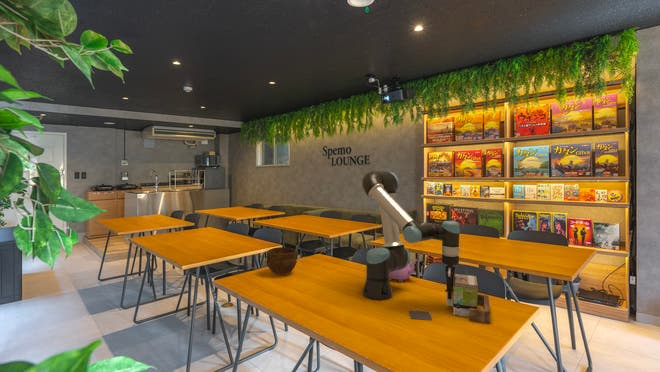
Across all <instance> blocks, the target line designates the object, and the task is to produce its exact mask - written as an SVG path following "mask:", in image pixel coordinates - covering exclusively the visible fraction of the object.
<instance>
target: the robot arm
mask: <svg viewBox="0 0 660 372" xmlns="http://www.w3.org/2000/svg"><path fill="white" fill-rule="evenodd" d="M399 186H400V181H399V178H398V176H397V175H396V174H395V173H394V172H392V171H386V170H385V171H382V170H381V171H378V170H377V171H376V170H374V171H372V170H371V171H369V172H366V173H365V174H364V176H363V177H362V179H361V188H362V190H363V192H364V193H365V194H366V196H368V198H369V199H373V200H374V201H375V203H376V204H377V205H378V206H379V212H380V219H381V225H382V232H383V239H384V244H383V245H382V247H374V248H370V249H369V250H368V251H367V252H366V257H365V260H366V262H365V264H366V265H365V266H366V268H365V269H366V272H365V273H366V277H365V278H366V279H365V283H364V285H363V289H362V296H364V297H365V298H366V299H370V300H375V301H376V300H377V301H385V300H389V299H391V298H393V289H392V286H391V282H390V280H389V272H393V271H396V270H401V269H403V268H405V267H407V266H408V264H409V265H410V262H411V253H410V251H409V250H408V249H407V247H405V243H404V242H402V241H401V235H400V230H401V231H402V236H403V239H404V241H405V242H407V243H408V244H409V243H410V244H416V243H417V244H418V243H420V242H425V241H431V240H436V241H440V242H441V254H442V255H441V263H442V264H444V265H446V266H445V277H446V289H445V290H444V291H445V293H446V306H450V307H453V290H454V275H455V271H456V267H455V266H456V265H459V264H460V256H459V255H460V251H462V250H461V247H460V234H461V233H460V232H461V231H460V223H459V222H458V221H456V220H455V221H453V220H444V221H442V224H438V223H431V222H422V223H421V224H418V222H417V221H415V219H413V217H412V216H410V214H409V213H408V212H407V211H406V210H405V209H404V208H403V207H402V206H401V205H400V204H399V203H398V202H397V200H396V199H395V197H396V195H397V191H398V189H399Z"/></svg>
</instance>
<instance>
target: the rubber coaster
mask: <svg viewBox="0 0 660 372" xmlns="http://www.w3.org/2000/svg"><path fill="white" fill-rule="evenodd" d="M408 313H409V317H410V320H419V321H433V318H432V316H431V313H430V311H427V310H410V309H409V310H408Z"/></svg>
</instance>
